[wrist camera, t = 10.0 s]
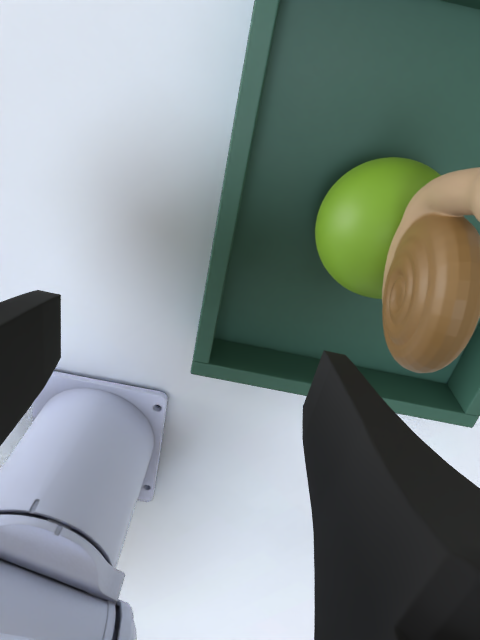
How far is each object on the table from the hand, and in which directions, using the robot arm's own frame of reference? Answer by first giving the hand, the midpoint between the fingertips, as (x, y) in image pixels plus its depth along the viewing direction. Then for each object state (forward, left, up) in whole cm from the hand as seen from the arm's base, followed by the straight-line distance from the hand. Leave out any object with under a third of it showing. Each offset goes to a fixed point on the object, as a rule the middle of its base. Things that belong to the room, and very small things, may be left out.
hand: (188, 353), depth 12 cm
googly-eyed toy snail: (+3, -6, -10) cm, 12 cm away
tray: (+3, -7, -10) cm, 13 cm away
